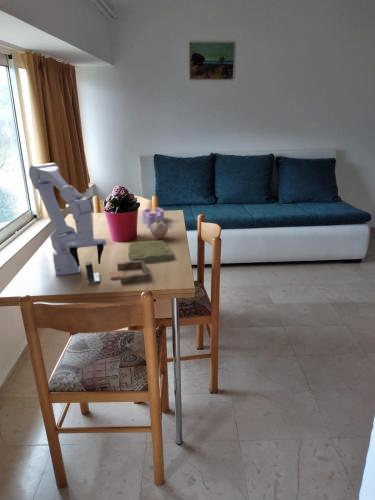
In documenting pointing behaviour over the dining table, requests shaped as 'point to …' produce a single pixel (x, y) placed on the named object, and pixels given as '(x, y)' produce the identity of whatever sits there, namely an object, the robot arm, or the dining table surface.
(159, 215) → the purple lobed block
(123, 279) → the frame
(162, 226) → the decorative fruit
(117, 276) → the salmon pink panel
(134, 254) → the decorative tile
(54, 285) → the dining table surface
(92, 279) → the grey block
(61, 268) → the robot arm
